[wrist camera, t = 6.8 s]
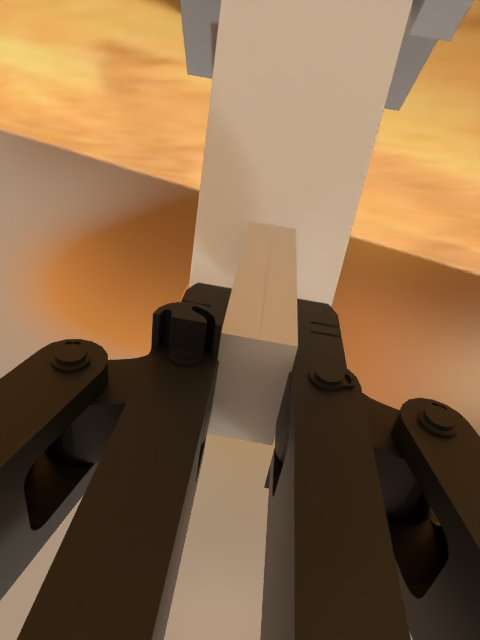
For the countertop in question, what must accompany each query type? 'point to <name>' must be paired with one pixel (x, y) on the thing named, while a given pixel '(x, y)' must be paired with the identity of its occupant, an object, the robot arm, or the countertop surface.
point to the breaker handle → (293, 129)
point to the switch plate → (418, 41)
